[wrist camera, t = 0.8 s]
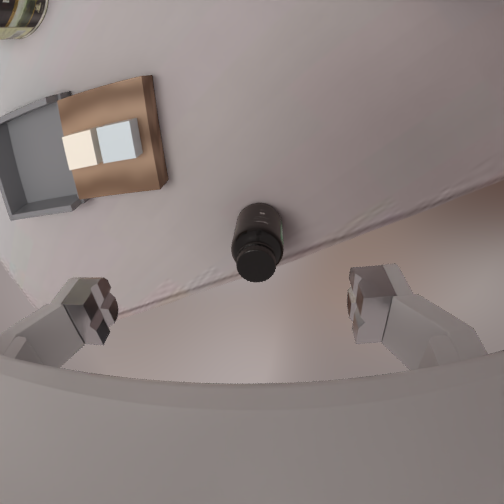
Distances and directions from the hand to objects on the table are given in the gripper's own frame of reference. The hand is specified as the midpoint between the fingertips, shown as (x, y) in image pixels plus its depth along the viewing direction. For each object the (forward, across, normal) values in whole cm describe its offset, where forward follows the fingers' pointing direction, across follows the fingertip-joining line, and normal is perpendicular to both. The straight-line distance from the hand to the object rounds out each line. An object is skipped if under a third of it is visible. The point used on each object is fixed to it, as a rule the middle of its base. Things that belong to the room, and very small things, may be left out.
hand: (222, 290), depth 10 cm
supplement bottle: (+36, +1, +15) cm, 40 cm away
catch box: (+36, +36, -1) cm, 51 cm away
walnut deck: (+36, +21, -1) cm, 42 cm away
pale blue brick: (+32, +18, -1) cm, 37 cm away
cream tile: (+32, +24, -1) cm, 40 cm away
